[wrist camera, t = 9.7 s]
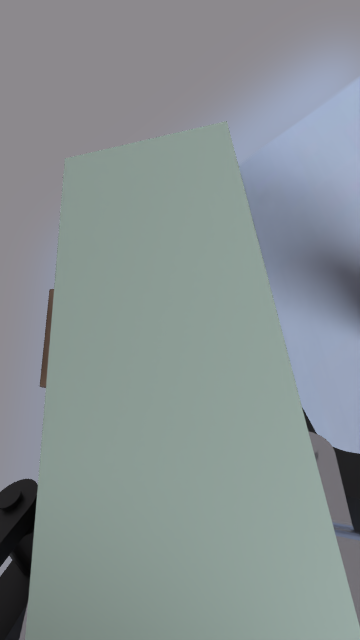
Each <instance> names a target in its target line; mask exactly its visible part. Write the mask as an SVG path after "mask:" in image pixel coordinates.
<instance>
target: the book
mask: <svg viewBox="0 0 360 640" xmlns="http://www.w3.org/2000/svg"><path fill="white" fill-rule="evenodd" d="M57 249H58V250H57V261H56V273H55V285H54V297H53V309H52V321H51V333H50V345H49V357H48V369H47V381H46V395H45V406H44V418H43V430H42V442H41V454H40V467H39V478H38V490H37V502H36V514H35V526H34V538H33V551H32V563H31V575H30V587H29V599H28V611H27V623H26V635H25V640H360V626H359V622H358V619H357V615H356V611H355V607H354V603H353V600H352V596H351V592H350V588H349V584H348V581H347V577H346V573H345V569H344V565H343V562H342V558H341V554H340V550H339V546H338V543H337V539H336V535H335V531H334V527H333V524H332V520H331V516H330V512H329V508H328V505H327V501H326V497H325V493H324V489H323V486H322V482H321V478H320V474H319V470H318V467H317V463H316V459H315V455H314V451H313V448H312V444H311V440H310V436H309V432H308V429H307V425H306V421H305V417H304V413H303V410H302V406H301V402H300V398H299V394H298V391H297V387H296V383H295V379H294V375H293V372H292V368H291V364H290V360H289V356H288V353H287V349H286V345H285V341H284V337H283V334H282V330H281V326H280V322H279V318H278V314H277V311H276V307H275V303H274V299H273V295H272V292H271V288H270V284H269V280H268V276H267V273H266V269H265V265H264V261H263V257H262V254H261V250H260V246H259V242H258V238H257V235H256V231H255V227H254V223H253V219H252V216H251V212H250V208H249V204H248V200H247V197H246V193H245V189H244V185H243V181H242V178H241V174H240V170H239V166H238V162H237V159H236V155H235V151H234V147H233V144H232V140H231V136H230V132H229V128H228V124H227V121H226V122H221V123H217V124H213V125H208V126H204V127H200V128H196V129H191V130H187V131H183V132H178V133H174V134H170V135H165V136H161V137H156V138H153V139H148V140H144V141H139V142H135V143H131V144H126V145H122V146H118V147H113V148H109V149H105V150H101V151H96V152H92V153H88V154H84V155H79V156H74V157H71V158H66V159H65V164H64V176H63V188H62V202H61V212H60V224H59V236H58V248H57Z"/></svg>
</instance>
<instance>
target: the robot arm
mask: <svg viewBox="0 0 360 640" xmlns="http://www.w3.org/2000/svg"><path fill="white" fill-rule="evenodd" d="M302 410H303V408H302ZM303 413H304V417H305V421H306V425H307V429H308V432H309V436H310V440H311V444H312V448H313V451H314V455H315V459H316V463H317V467H318V470H319V474H320V478H321V482H322V486H323V489H324V493H325V497H326V501H327V505H328V508H329V512H330V516H331V520H332V524H333V527H334V531H335V535H336V539H337V543H338V546H339V550H340V554H341V558H342V562H343V565H344V569H345V573H346V577H347V581H348V584H349V588H350V592H351V596H352V600H353V603H354V607H355V611H356V615H357V619H358V622H359V626H360V454H357V453H351V452H346V451H342V450H339V449H337V448H334V447H332V445H331V444H330V443H329V442H328V441H327V440H326V439H324V438H323V437H322V436H320V435H318V434H317V433H316V432H315V430H314V428H313V426H312V424H311V423H310V421H309V419H308V417H307V415H306V413H305V412H304V410H303ZM37 490H38V485H37V483H36V482H35V481H34V480H32V479H23V480H19V481H17V482H14V483H12V484H11V485H9V486H7V487H6V488H5V489H3V490H2V491H1V492H0V567H1V565H2V564H3V563H4V561H5V560H6V559H7V557H8V556H10V557H11V559H12V562H11V563H10V564H9V566H8V567H7V569H6V570H5V571H4V572H3V574H2V575H1V577H0V640H25V635H26V623H27V611H28V599H29V587H30V575H31V563H32V551H33V538H34V526H35V514H36V502H37ZM19 638H20V639H19Z"/></svg>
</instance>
